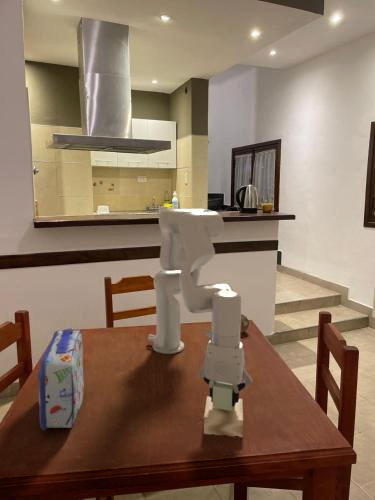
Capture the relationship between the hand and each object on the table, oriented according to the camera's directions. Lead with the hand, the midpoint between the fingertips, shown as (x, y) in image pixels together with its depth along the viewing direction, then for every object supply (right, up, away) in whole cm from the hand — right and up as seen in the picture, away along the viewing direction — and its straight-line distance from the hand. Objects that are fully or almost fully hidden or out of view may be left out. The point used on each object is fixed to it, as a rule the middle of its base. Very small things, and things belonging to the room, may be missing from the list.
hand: (224, 401), depth 101 cm
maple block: (0, -7, +1) cm, 7 cm away
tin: (+10, +4, +66) cm, 67 cm away
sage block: (0, -1, 0) cm, 1 cm away
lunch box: (-46, -5, +8) cm, 47 cm away
